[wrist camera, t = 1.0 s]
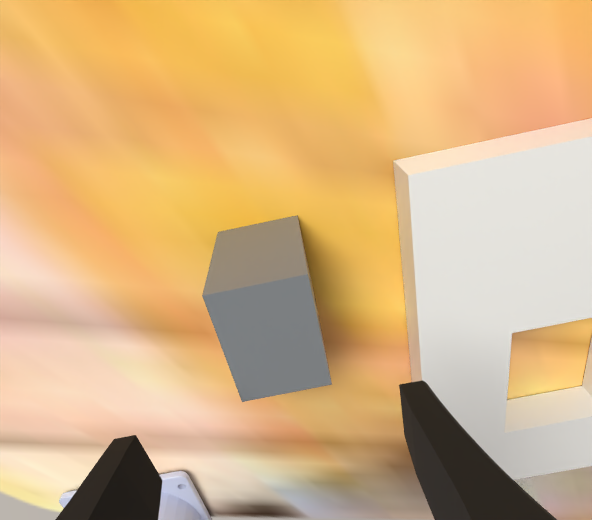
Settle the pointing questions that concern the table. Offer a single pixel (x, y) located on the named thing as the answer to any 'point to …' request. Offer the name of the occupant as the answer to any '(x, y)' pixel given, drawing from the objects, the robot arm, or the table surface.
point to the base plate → (500, 284)
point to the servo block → (266, 310)
